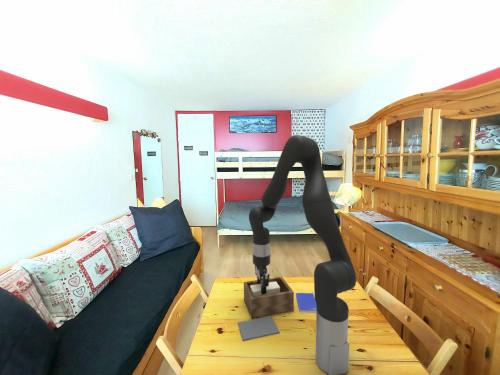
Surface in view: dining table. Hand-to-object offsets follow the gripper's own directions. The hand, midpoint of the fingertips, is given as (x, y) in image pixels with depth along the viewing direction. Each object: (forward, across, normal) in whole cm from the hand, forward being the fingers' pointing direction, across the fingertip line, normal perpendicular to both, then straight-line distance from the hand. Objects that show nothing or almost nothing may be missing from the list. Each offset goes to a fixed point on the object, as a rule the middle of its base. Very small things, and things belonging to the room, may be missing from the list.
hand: (261, 289), depth 99 cm
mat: (+8, -12, +5) cm, 15 cm away
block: (+4, 0, -1) cm, 4 cm away
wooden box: (+8, 0, -2) cm, 8 cm away
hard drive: (+9, -3, -20) cm, 22 cm away
